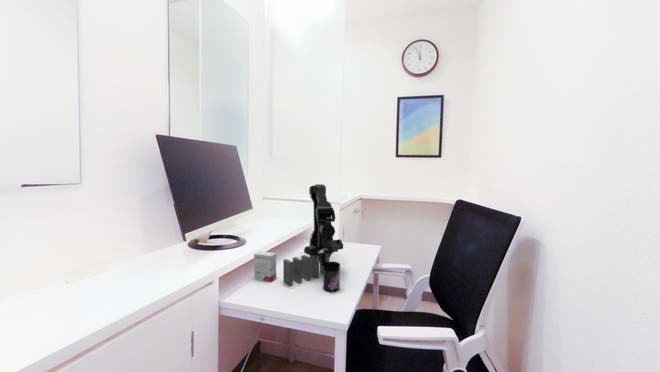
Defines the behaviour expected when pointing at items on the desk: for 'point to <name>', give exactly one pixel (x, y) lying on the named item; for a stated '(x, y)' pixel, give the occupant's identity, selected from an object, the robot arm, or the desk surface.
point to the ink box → (265, 266)
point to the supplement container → (331, 276)
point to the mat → (305, 281)
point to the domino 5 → (326, 259)
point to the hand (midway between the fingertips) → (324, 266)
